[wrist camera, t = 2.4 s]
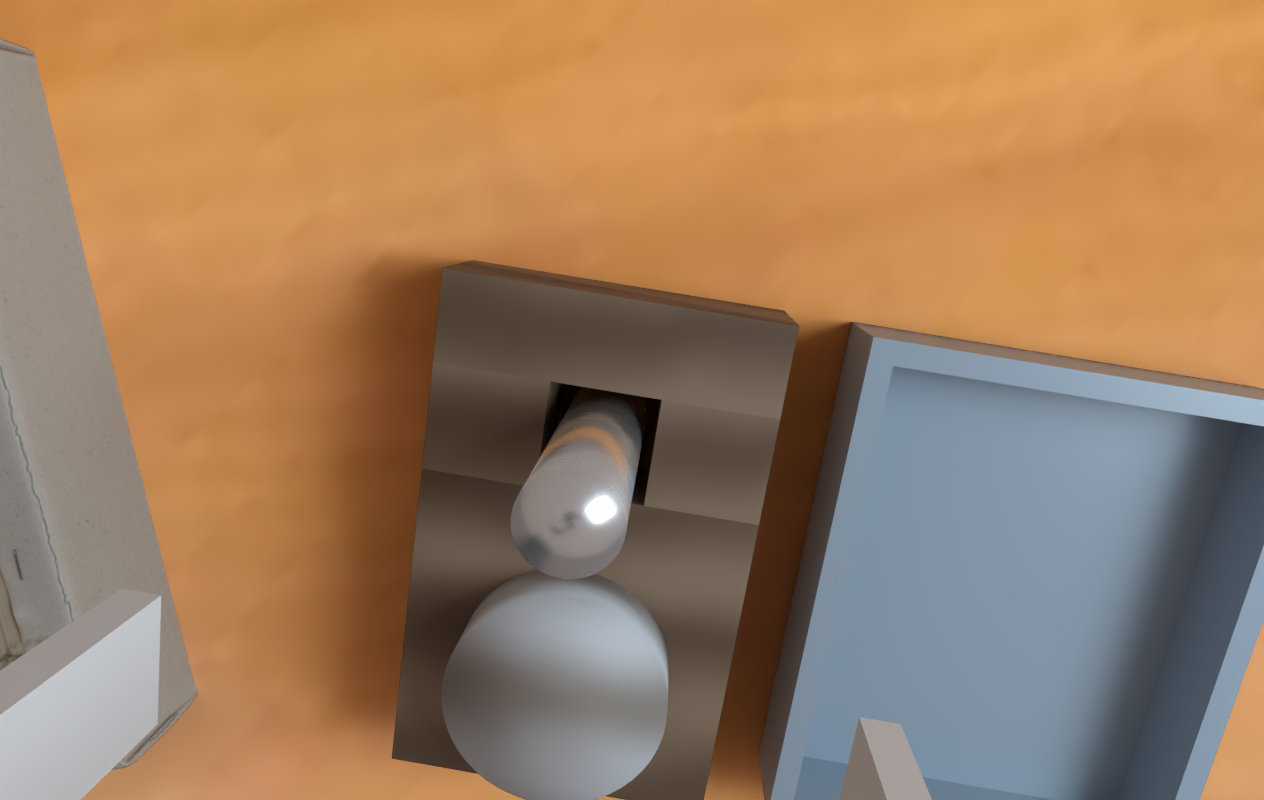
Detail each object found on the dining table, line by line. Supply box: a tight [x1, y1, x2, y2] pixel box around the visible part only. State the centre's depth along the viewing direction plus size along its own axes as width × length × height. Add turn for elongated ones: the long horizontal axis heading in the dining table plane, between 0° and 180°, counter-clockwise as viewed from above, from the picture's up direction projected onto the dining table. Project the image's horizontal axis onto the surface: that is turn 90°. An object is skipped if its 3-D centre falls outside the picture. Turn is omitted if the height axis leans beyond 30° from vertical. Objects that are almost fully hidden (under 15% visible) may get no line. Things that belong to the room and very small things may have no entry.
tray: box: [758, 322, 1264, 800], centre depth 38 cm, size 22×18×4 cm
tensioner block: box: [392, 261, 799, 800], centre depth 37 cm, size 22×14×8 cm, turn 171°
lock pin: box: [511, 387, 646, 579], centre depth 33 cm, size 4×4×14 cm
